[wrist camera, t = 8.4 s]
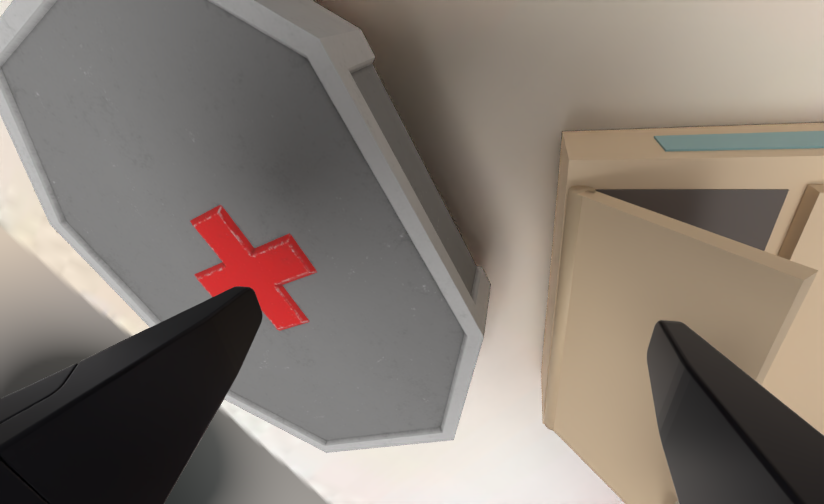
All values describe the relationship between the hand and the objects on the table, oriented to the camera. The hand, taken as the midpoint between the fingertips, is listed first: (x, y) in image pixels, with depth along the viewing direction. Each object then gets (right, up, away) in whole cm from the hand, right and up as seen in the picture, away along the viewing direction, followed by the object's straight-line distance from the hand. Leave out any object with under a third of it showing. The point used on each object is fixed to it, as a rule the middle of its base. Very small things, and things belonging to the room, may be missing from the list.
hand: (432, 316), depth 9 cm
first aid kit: (-6, +4, +16) cm, 17 cm away
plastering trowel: (+10, -4, +6) cm, 12 cm away
